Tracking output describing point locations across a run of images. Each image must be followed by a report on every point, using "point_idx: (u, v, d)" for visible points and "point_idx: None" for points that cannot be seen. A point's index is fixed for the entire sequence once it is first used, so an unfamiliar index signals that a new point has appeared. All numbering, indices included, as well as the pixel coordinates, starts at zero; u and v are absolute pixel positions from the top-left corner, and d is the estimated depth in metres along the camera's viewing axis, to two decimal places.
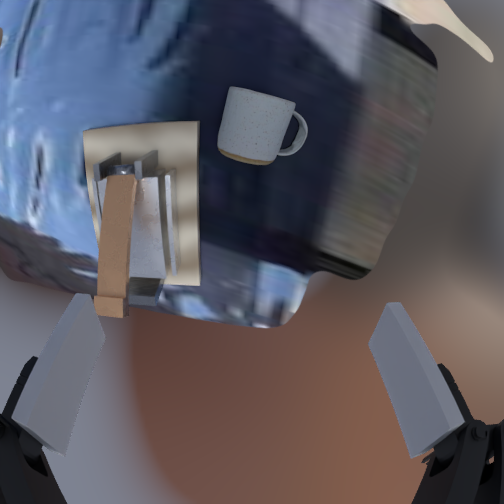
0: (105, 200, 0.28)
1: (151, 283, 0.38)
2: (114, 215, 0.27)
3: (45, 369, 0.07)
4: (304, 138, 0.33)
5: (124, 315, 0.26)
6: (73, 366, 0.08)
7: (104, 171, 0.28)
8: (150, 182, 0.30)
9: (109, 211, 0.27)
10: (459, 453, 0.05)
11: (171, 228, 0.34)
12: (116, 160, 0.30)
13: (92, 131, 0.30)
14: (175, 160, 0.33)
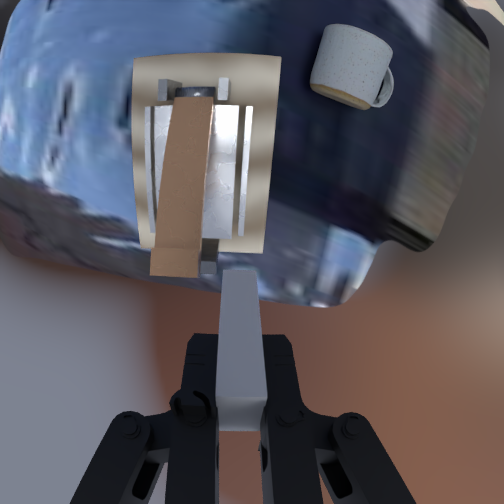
0: (171, 124, 0.21)
1: (207, 247, 0.32)
2: (184, 141, 0.21)
3: (235, 338, 0.09)
4: (390, 93, 0.26)
5: (198, 275, 0.20)
6: None
7: (170, 92, 0.21)
8: (228, 111, 0.23)
9: (177, 137, 0.21)
10: (268, 450, 0.06)
11: (246, 173, 0.27)
12: None
13: (146, 58, 0.23)
14: (252, 96, 0.26)
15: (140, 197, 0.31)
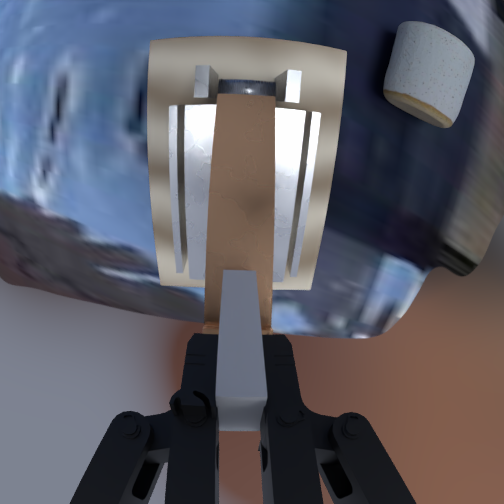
0: (217, 134, 0.15)
1: None
2: (240, 162, 0.15)
3: (235, 339, 0.09)
4: None
5: None
6: None
7: (210, 85, 0.15)
8: (291, 118, 0.17)
9: (228, 154, 0.15)
10: (269, 450, 0.06)
11: (307, 200, 0.21)
12: (216, 82, 0.17)
13: (168, 40, 0.17)
14: (311, 98, 0.20)
15: (160, 225, 0.25)
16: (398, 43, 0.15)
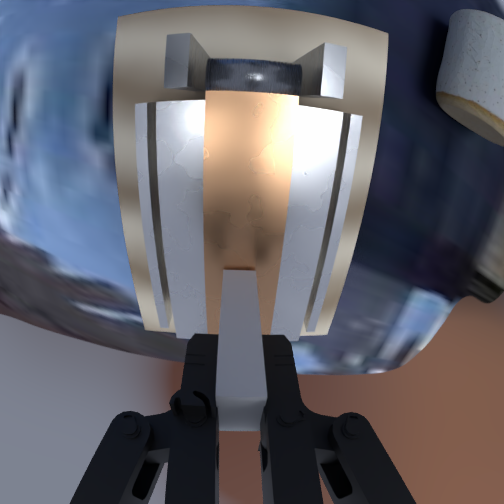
0: (208, 163, 0.10)
1: None
2: (241, 204, 0.11)
3: (235, 339, 0.09)
4: None
5: None
6: None
7: (194, 68, 0.08)
8: (322, 122, 0.11)
9: (225, 194, 0.11)
10: (268, 450, 0.06)
11: (337, 241, 0.15)
12: None
13: (142, 15, 0.10)
14: None
15: (138, 263, 0.19)
16: (457, 34, 0.09)
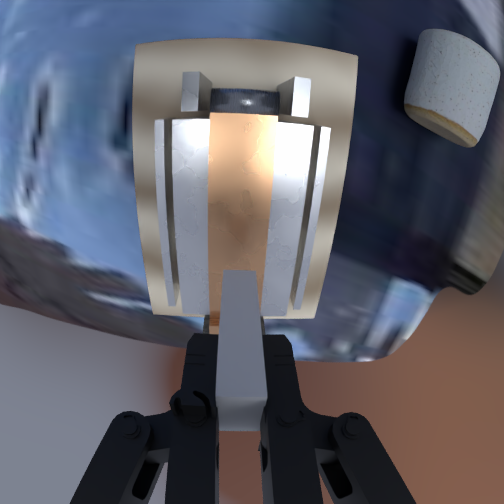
0: (212, 166, 0.14)
1: None
2: (236, 197, 0.15)
3: (235, 339, 0.09)
4: None
5: None
6: None
7: (201, 96, 0.12)
8: (297, 134, 0.15)
9: (224, 189, 0.15)
10: (269, 450, 0.06)
11: (314, 228, 0.19)
12: (209, 91, 0.15)
13: (156, 44, 0.14)
14: (318, 109, 0.18)
15: (150, 252, 0.23)
16: (422, 52, 0.13)
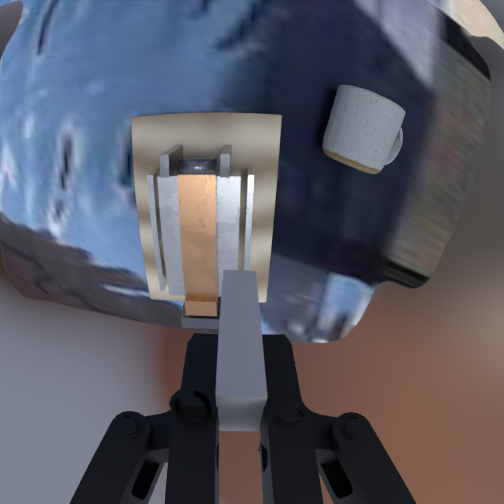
0: (180, 205, 0.25)
1: None
2: (195, 222, 0.26)
3: (235, 339, 0.09)
4: (399, 148, 0.29)
5: None
6: None
7: (172, 165, 0.23)
8: (231, 182, 0.26)
9: (188, 218, 0.26)
10: (269, 450, 0.06)
11: (249, 238, 0.30)
12: (180, 154, 0.26)
13: (145, 118, 0.26)
14: (253, 158, 0.29)
15: (148, 255, 0.34)
16: (334, 106, 0.24)
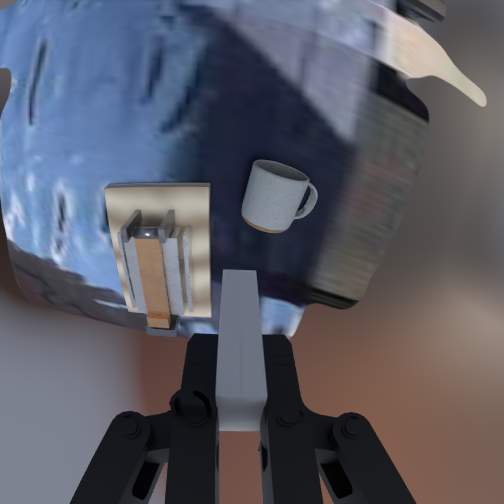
0: (138, 257, 0.37)
1: None
2: (149, 268, 0.38)
3: (235, 339, 0.09)
4: (314, 203, 0.40)
5: (169, 325, 0.42)
6: None
7: (130, 232, 0.35)
8: (170, 242, 0.37)
9: (144, 265, 0.37)
10: (269, 450, 0.06)
11: (188, 276, 0.41)
12: (138, 218, 0.38)
13: (113, 189, 0.37)
14: (190, 219, 0.40)
15: (124, 281, 0.45)
16: None
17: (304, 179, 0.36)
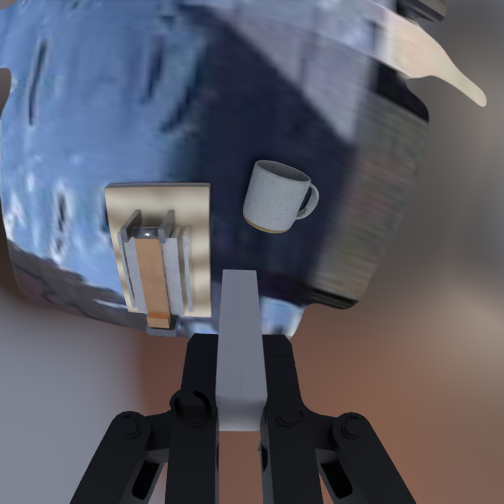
0: (138, 257, 0.37)
1: None
2: (148, 268, 0.38)
3: (235, 339, 0.09)
4: (315, 203, 0.40)
5: (169, 325, 0.42)
6: None
7: (130, 232, 0.35)
8: (170, 242, 0.37)
9: (144, 265, 0.37)
10: (269, 450, 0.06)
11: (188, 276, 0.41)
12: (138, 218, 0.38)
13: (113, 189, 0.37)
14: (190, 218, 0.40)
15: (124, 281, 0.45)
16: (250, 180, 0.36)
17: (305, 179, 0.36)
